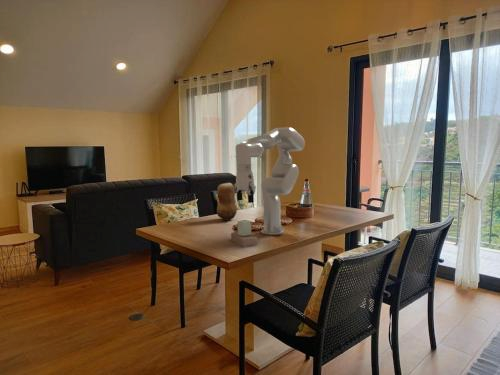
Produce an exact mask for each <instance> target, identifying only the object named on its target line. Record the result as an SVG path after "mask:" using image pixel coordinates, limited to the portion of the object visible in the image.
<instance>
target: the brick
mask: <svg viewBox="0 0 500 375" xmlns="http://www.w3.org/2000/svg"><path fill="white" fill-rule="evenodd" d="M230 239H231V241H232V242H234V243H235V244H237V245H239V246H240V247H243V248H247V247H256V246H258V244H259V243H258V237H257V236H254V235H252V234H251V235H247V236H241V235H238V231H234V232H231V233H230Z"/></svg>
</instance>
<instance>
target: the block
mask: <svg viewBox="0 0 500 375" xmlns="http://www.w3.org/2000/svg"><path fill="white" fill-rule="evenodd" d="M236 222H237V232H238V235H241V236H247V235H252V221H251V220H247V219H242V220H237V221H236Z"/></svg>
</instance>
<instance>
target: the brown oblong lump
mask: <svg viewBox="0 0 500 375" xmlns="http://www.w3.org/2000/svg"><path fill="white" fill-rule="evenodd" d="M217 199H218V204H217V207H216V215H217V216H218V217H219V218H220V219H222V220H223V221H230V220H233V219H234V218H235V216H236V215H237V210H238V208H237V204H236V200H235V199H236V190H235V186H234V184H233V183H231V182H225V183H221V184H219V185H218V186H217Z"/></svg>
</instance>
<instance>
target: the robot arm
mask: <svg viewBox="0 0 500 375" xmlns="http://www.w3.org/2000/svg"><path fill="white" fill-rule="evenodd" d="M275 146H277V151H278V158H277V159H276V162H275V163H274V165H273V167H272V169H271V173H270V175H271V176H268V177H265V178H264V179H262V181H261V184H260V185H261V186H260V188H261V192H262V197H263V199H262V200H263V229H261V234H263V235H270V236H274V235H275V236H277V235H282V234H283V233H284V231H285V228H284V227H283V226H282V224H281V222H282V220H281V218H282V216H281V215H282V214H281V199H280V196H287V195H289V194H290V193H291V192H292V190H293V189H294V186H295V184H296V182H297V180H298V177H299V174H300V173H299V172H300V170H299V167H298V165H296V164H295V163H293V158H292V156H291V155H290V152H300V151H303V150H304V149H305V146H306V141H305V139H304V137H303V136H302V135H301V134H300V133H299V132H297V130H296V129H294V128H292V127H290V126H286V127H275V128H273V129H271V130H270V131H268V132H266V133H264V134H261V135H257V136H255V137H251V138H248V139H245V140H244V141H241V142H240V143H237V144H236V145H235V162H236V163H235V165H236V167H235V168H236V175H235V183H234V184H233V186H234V191H235V194H236V201H237V202H238V201H243V192H247V194H248V195H247V203H248V204H253V203H254V201H255V198H254V195H255V192H256V189H257V187H256V185H255V179H254V173H253V171H252V158H259V157H262V155H263V154H264V151H266V150H270V149H272V148H274V147H275ZM242 191H243V192H242Z"/></svg>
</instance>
